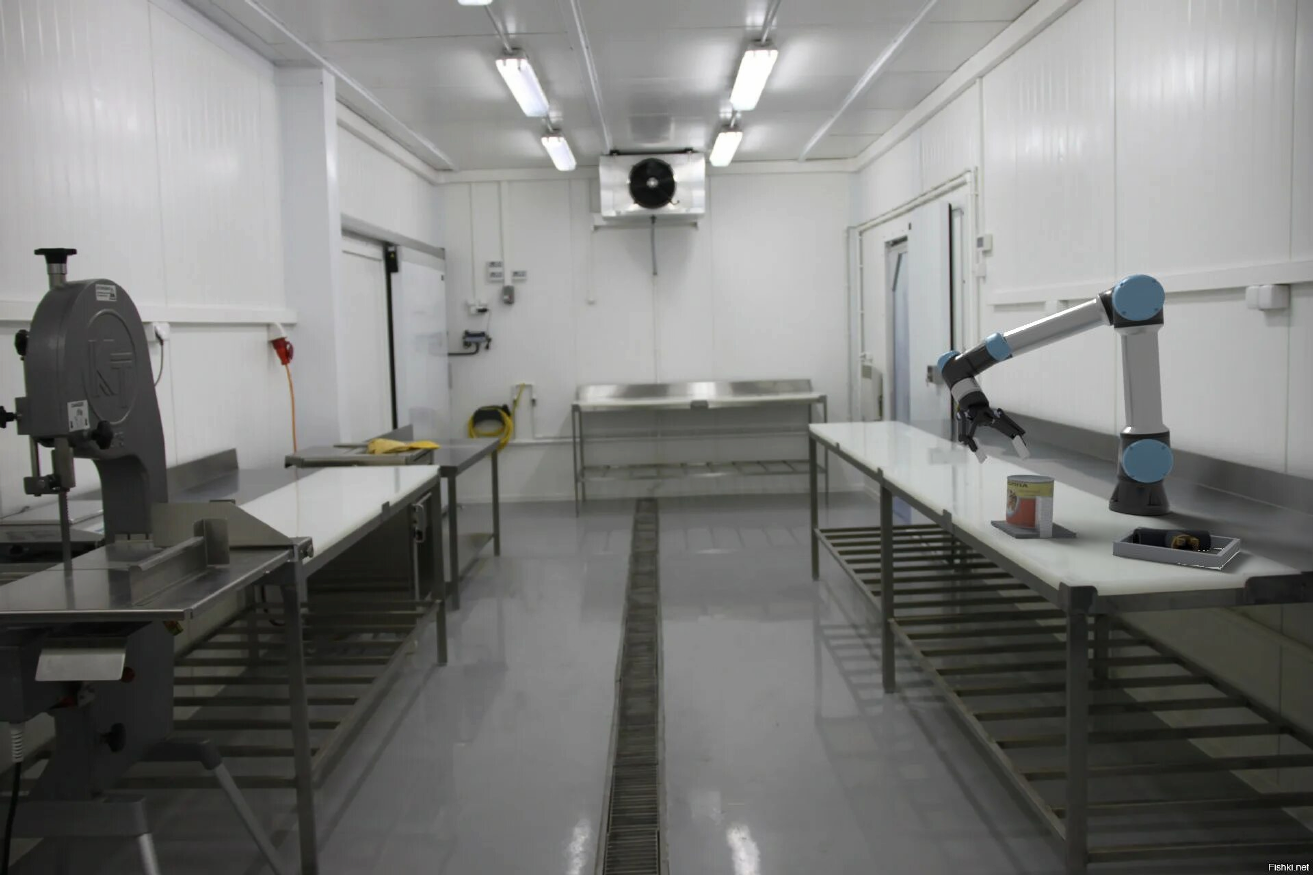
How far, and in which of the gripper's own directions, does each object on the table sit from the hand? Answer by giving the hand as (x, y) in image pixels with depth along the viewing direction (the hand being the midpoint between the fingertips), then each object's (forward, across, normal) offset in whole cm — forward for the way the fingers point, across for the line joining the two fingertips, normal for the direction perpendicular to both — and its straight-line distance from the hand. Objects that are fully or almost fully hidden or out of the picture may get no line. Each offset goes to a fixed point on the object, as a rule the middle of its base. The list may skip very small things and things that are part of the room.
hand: (1005, 459), depth 239 cm
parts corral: (+42, -13, +18) cm, 47 cm away
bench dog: (+24, +2, +1) cm, 25 cm away
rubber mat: (+20, 0, -4) cm, 20 cm away
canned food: (+17, -1, -5) cm, 18 cm away
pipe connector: (+42, -14, +17) cm, 47 cm away
